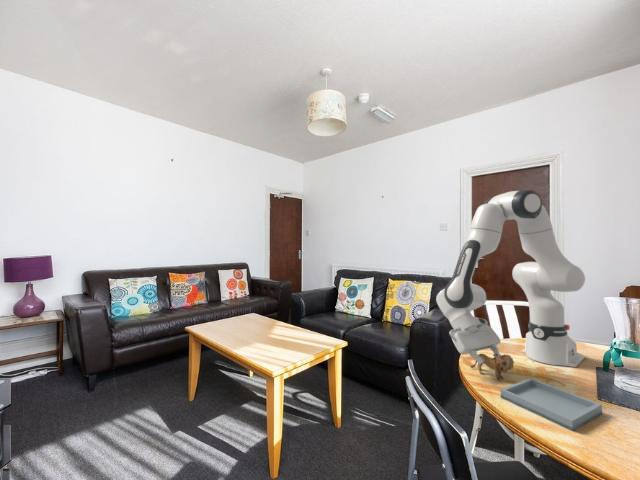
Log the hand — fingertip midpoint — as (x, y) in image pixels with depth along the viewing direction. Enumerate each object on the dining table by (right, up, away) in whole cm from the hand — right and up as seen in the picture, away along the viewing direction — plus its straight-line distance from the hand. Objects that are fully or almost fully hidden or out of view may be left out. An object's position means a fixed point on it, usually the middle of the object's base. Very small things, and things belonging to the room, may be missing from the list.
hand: (491, 360), depth 104 cm
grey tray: (+5, -5, -20) cm, 21 cm away
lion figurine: (0, -5, 0) cm, 5 cm away
